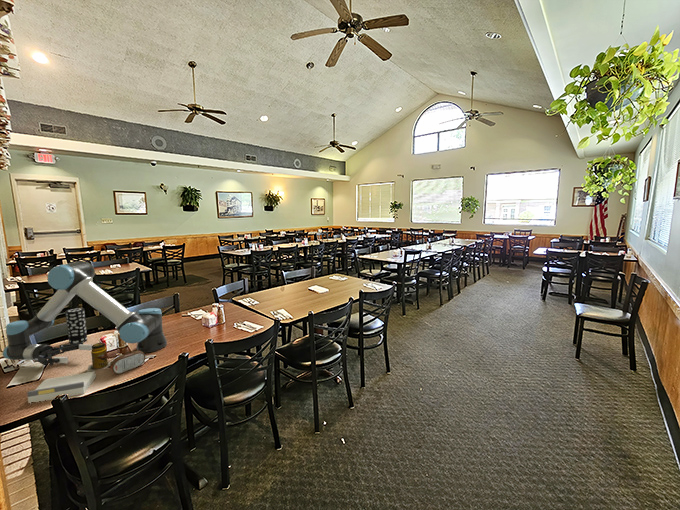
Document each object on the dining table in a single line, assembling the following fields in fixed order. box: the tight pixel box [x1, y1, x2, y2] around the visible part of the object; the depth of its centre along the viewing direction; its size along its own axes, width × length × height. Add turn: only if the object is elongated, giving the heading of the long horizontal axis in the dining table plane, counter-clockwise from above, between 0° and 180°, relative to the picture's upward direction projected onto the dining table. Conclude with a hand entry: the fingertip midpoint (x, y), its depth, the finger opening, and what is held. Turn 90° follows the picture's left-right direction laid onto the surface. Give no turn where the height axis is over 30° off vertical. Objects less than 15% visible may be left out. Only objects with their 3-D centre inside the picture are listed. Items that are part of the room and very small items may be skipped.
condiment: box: [86, 342, 111, 373], centre depth 148 cm, size 7×8×12 cm
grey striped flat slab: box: [26, 370, 96, 404], centre depth 129 cm, size 18×14×5 cm
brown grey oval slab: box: [109, 350, 146, 375], centre depth 146 cm, size 15×3×8 cm, turn 148°
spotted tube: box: [65, 307, 88, 344], centre depth 175 cm, size 8×8×20 cm
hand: (80, 353), depth 148 cm, fingers open, 13 cm apart
